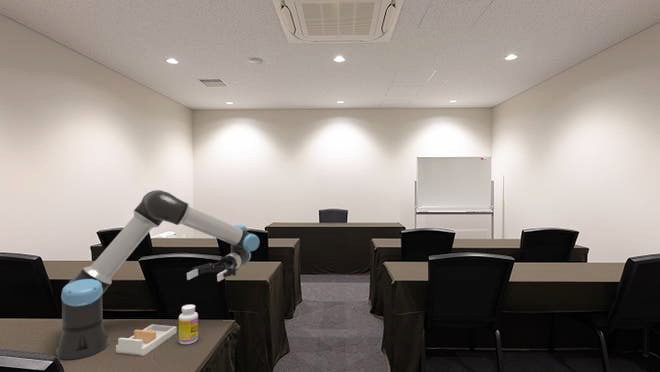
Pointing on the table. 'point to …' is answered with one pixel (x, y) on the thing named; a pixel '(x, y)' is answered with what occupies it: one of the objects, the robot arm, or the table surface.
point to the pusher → (145, 335)
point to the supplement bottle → (188, 325)
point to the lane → (141, 348)
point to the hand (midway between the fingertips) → (202, 277)
